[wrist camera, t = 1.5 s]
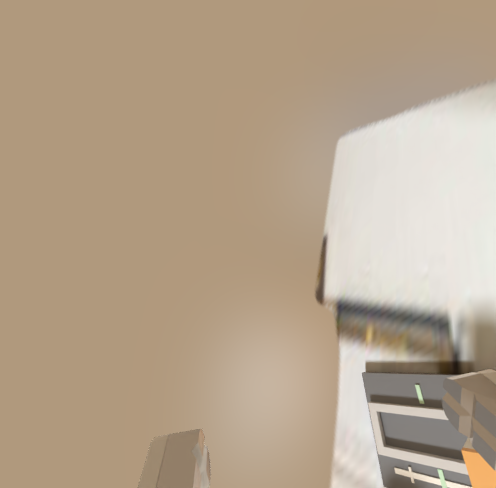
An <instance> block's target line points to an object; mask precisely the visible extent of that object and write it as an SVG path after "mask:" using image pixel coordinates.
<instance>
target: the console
mask: <svg viewBox="0 0 496 488" xmlns="http://www.w3.org/2000/svg"><path fill="white" fill-rule="evenodd" d="M457 375H462V374H422V373H382V372H364V373H362V376H363V382H364V387H365V392H366V397H367V402H368V407H369V412H370V418H371V423H372V428H373V433H374V438H375V443H376V449H377V454H378V459H379V464H380V469H381V474H382V479H383V485H384V487H387V488H472V484H471V481H470V478H469V474H468V471H467V468H466V464H465V461H464V458H463V455H462V451H461V450H462V448H463V446H464V444H465V442H466V441H467V439H468V437H467V436H465V435H463V434H462V433H460V432H458V431H457V430H456V429H455V427H454V426H453V425H452V424H451V423H450V421H449V420H448V418H447V417H446V415H445V412H444V410H443V407H442V398H443V397H444V395H445V394H446V393H447V392H446V390H445V389H444V388H443V381H444V380H445V379H446V378H448V377H453V376H457Z"/></svg>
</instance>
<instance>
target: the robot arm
mask: <svg viewBox="0 0 496 488" xmlns="http://www.w3.org/2000/svg"><path fill="white" fill-rule="evenodd" d="M443 388H444V389H445V390H446V392H447V393H446V394H445V395H444V397H443V398H442V407H443V410H444V412H445V415H446V417H447V418H448V420H449V421H450V423H451V424H452V425H453V426H454V427H455V429H456V430H457V431H458V432H460V433H462V434H463V435H465V436H467V437H469V438H470V440H471V444H472V447H473V448H474V449H475V450H476V451H477V452H478V453H479V454H480V456H481V457H482V458H483V459H484V460H485V461H486V462H487V463H488V464H489V465H490V466H491V467H492V468H493V469H494V470H496V371H495V370H492V369H487V370H482V371H477V372H471V373H466V374H462V375H457V376H453V377H448V378H446V379H445V380H444V381H443ZM204 438H205V437H204V433H203V430H202V429H197V430H191V431H186V432H180V433H173V434H169V435H163V436H158V437H154V438H153V440H152V442H151V444H150V447H149V451H148V454H147V457H146V461H145V465H144V468H143V471H142V474H141V478H140V482H139V485H138V488H209V486H210V458H209V452H208V448H207V447H206V446H205V445H204Z"/></svg>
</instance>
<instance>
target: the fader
mask: <svg viewBox="0 0 496 488" xmlns="http://www.w3.org/2000/svg"><path fill="white" fill-rule="evenodd" d="M461 451H462V455H463V458H464V461H465V464H466V468H467V471H468V474H469V478H470V481H471V484H472V488H496V470H494V469H493V468H492V467H491V466H490V465H489V464H488V463H487V462H486V461H485V460H484V459H483V458H482V457H481V456H480V454H479V453H478V452H477V451H476V450H475V449H474V448H473V447H472V444H471V440H470V438H469V437H468V439H467V441H466V442H465V444H464V446H463V448H462V450H461Z"/></svg>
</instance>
